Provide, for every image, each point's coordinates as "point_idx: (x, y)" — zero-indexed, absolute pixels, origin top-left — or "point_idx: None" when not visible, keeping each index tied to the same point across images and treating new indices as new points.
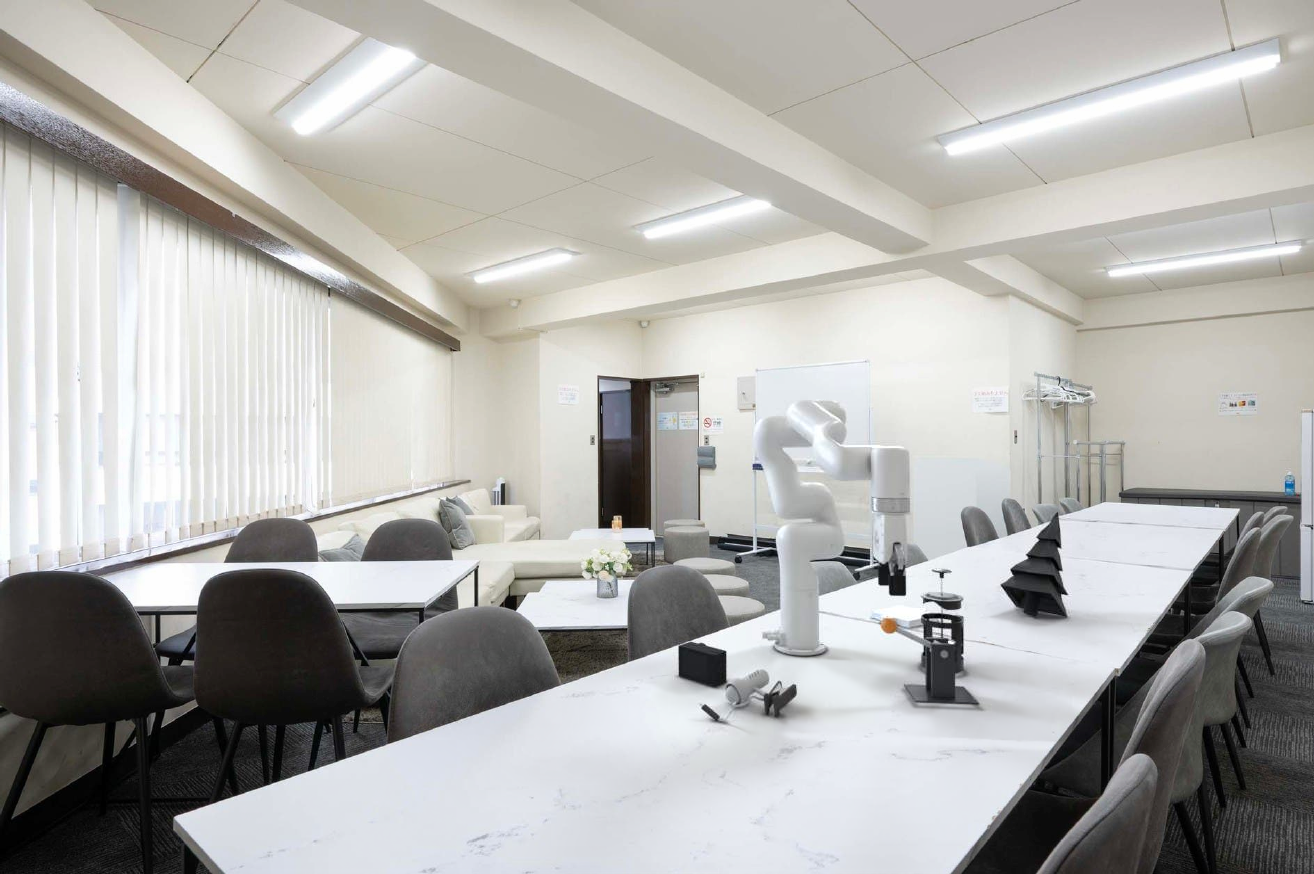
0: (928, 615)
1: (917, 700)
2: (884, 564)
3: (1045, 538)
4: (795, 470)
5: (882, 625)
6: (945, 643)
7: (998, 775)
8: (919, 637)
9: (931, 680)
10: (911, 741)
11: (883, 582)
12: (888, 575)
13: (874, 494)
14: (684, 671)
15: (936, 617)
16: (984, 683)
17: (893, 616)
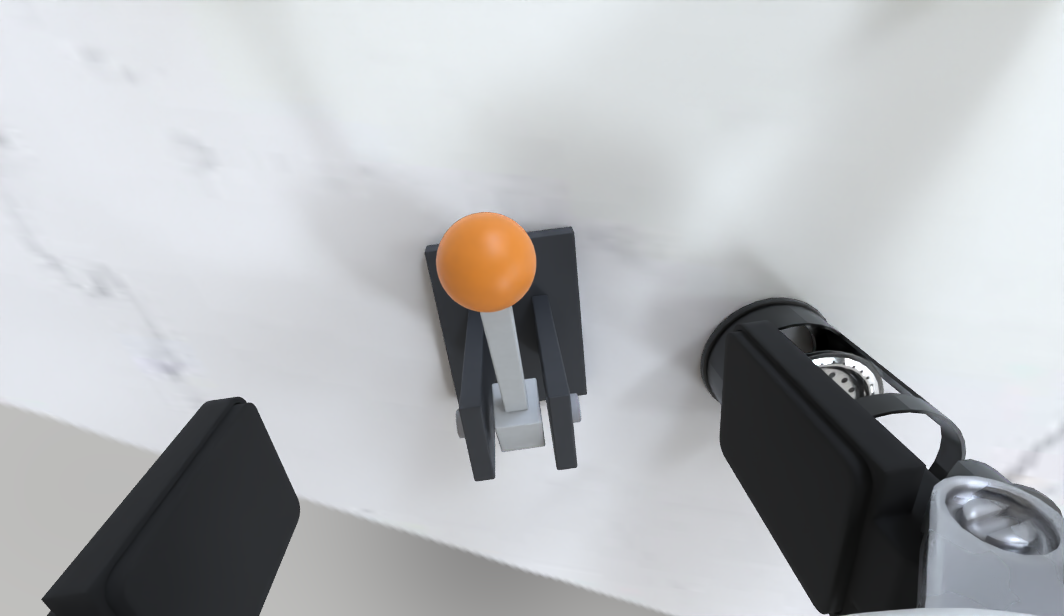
0: (952, 434)
1: (427, 258)
2: (894, 577)
3: None
4: None
5: (457, 224)
6: (487, 454)
7: (41, 379)
8: (506, 376)
9: (476, 327)
10: (134, 203)
11: (735, 381)
12: (775, 483)
13: None
14: None
15: (942, 454)
16: (662, 438)
17: None
